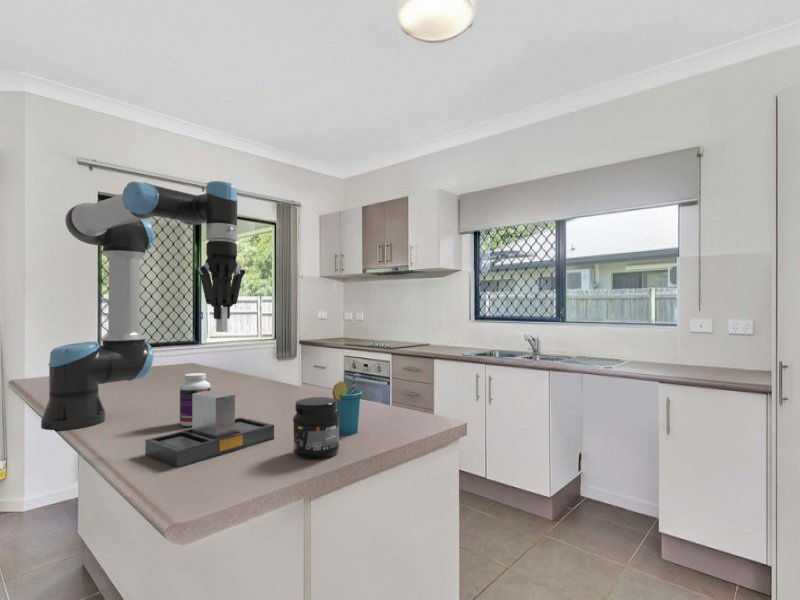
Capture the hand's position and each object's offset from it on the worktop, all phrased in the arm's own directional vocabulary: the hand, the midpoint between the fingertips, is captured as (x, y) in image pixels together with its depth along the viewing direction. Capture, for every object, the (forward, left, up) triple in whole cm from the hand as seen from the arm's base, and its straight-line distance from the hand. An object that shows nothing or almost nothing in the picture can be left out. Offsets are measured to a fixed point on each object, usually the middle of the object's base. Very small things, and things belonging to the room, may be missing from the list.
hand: (221, 331), depth 116 cm
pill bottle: (-18, +3, -28) cm, 33 cm away
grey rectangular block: (+6, -6, -27) cm, 28 cm away
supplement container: (+30, +5, -28) cm, 41 cm away
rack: (+6, -6, -27) cm, 29 cm away
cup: (+24, +23, -28) cm, 43 cm away
